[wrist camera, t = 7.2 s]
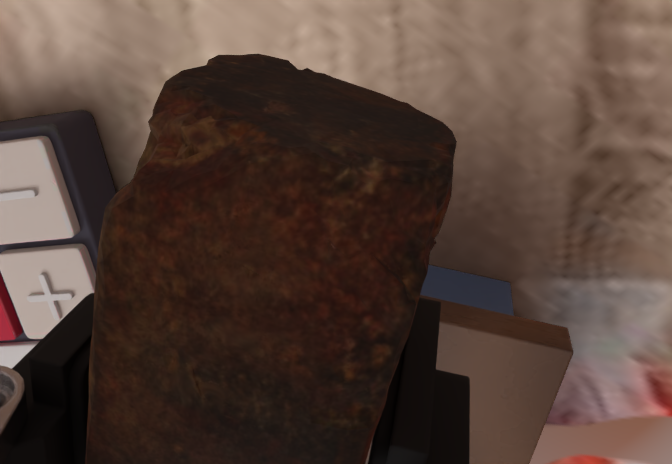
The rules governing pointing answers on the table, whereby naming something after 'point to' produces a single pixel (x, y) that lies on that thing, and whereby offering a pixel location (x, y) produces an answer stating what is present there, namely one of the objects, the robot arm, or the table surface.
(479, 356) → the board
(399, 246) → the brick
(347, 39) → the table surface
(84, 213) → the button pad
